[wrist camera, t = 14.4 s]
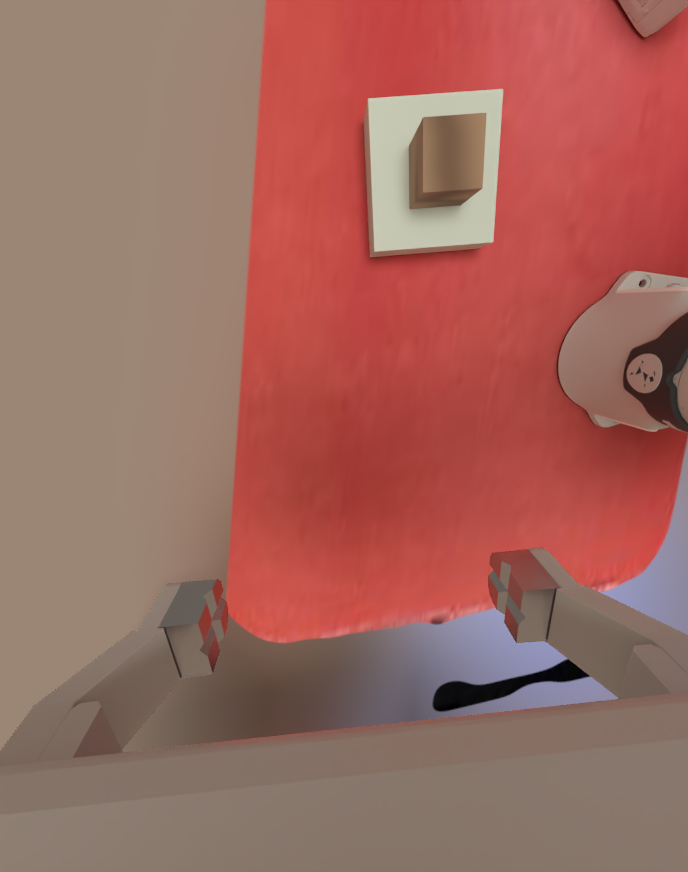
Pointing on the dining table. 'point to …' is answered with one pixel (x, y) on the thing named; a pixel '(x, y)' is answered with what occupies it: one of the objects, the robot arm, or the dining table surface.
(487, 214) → the mint base block
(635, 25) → the white slotted box
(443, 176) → the walnut cube
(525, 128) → the dining table surface
